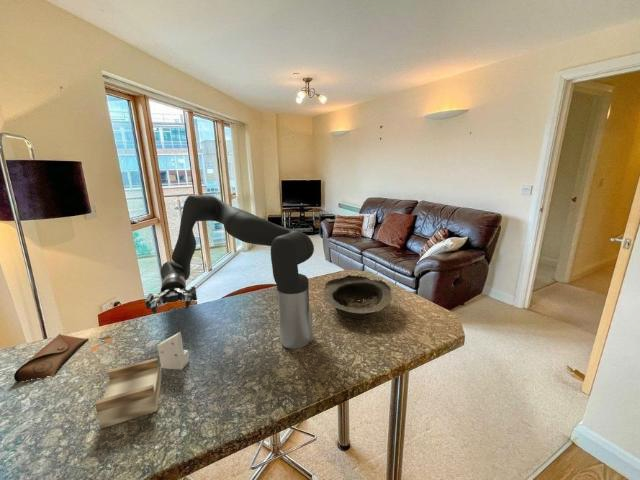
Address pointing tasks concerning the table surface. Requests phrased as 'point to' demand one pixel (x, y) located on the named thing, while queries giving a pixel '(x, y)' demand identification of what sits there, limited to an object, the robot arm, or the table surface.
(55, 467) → the table surface
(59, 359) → the sunglasses case
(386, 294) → the stone bowl
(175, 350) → the white angled block
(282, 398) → the table surface
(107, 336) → the key chain
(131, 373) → the wooden step block
